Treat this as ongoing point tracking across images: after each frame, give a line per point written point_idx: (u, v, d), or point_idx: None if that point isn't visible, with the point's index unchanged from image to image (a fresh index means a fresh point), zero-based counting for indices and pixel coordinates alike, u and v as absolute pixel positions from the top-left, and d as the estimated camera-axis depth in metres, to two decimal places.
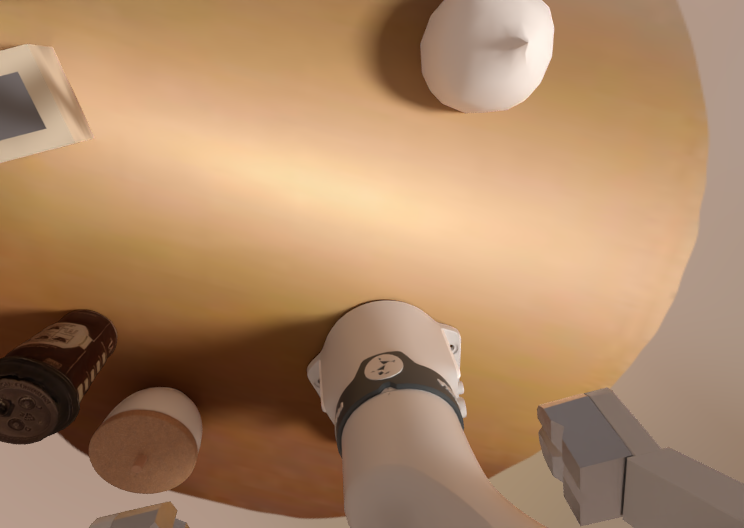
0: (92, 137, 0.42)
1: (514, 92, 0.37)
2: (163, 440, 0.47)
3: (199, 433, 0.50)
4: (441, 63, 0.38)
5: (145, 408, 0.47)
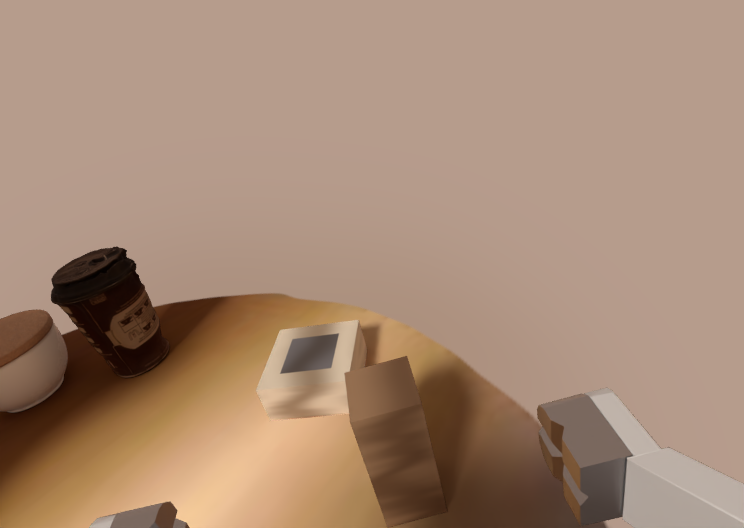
0: (269, 417, 0.39)
1: None
2: None
3: None
4: None
5: (22, 358, 0.46)
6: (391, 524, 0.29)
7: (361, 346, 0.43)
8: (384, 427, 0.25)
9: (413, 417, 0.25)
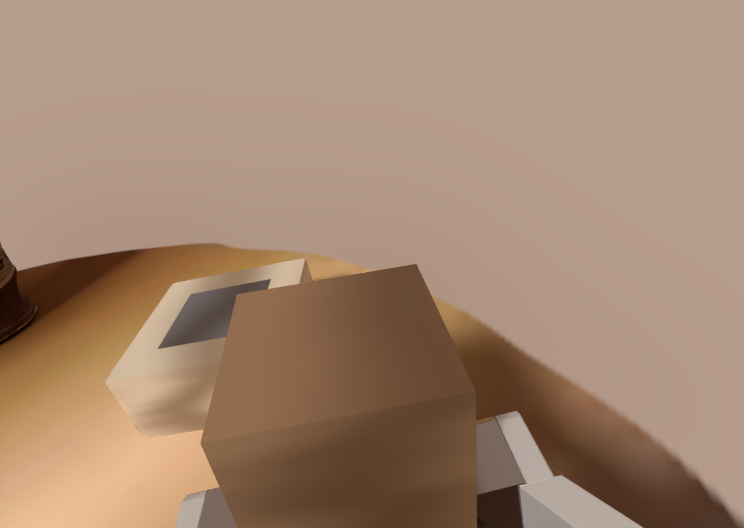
0: (141, 432, 0.21)
1: None
2: None
3: None
4: None
5: None
6: None
7: None
8: (331, 468, 0.07)
9: (436, 439, 0.07)
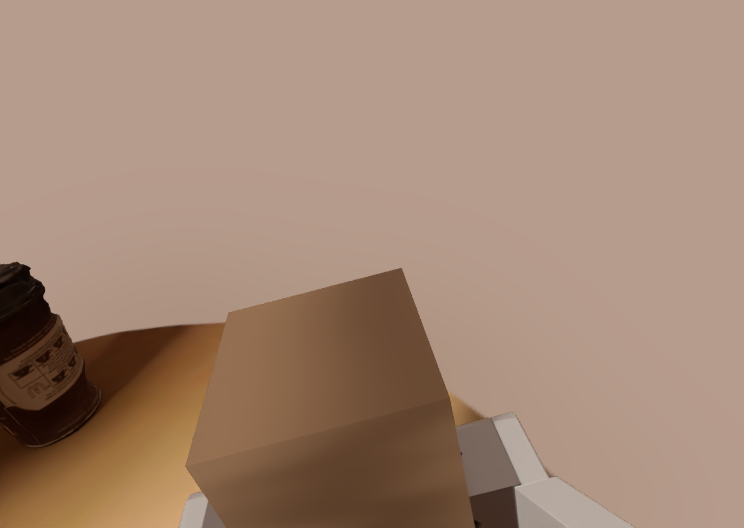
0: None
1: None
2: None
3: None
4: None
5: None
6: None
7: None
8: (316, 481, 0.07)
9: (417, 446, 0.07)
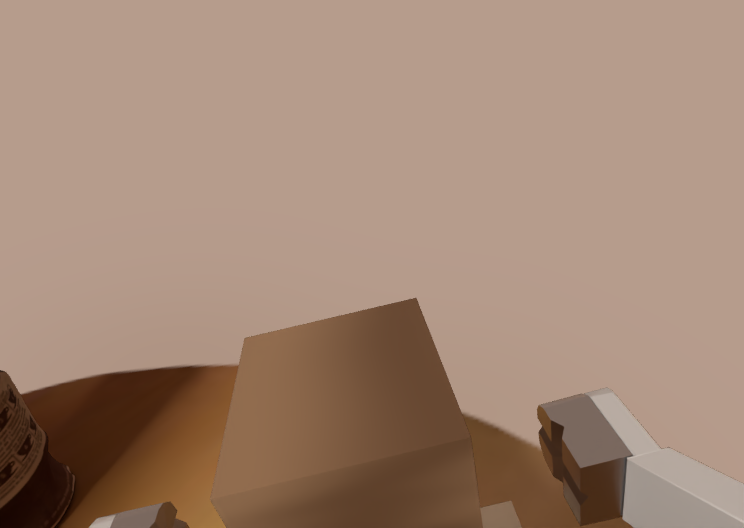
0: None
1: None
2: None
3: None
4: None
5: None
6: None
7: None
8: (336, 515, 0.07)
9: (436, 482, 0.07)
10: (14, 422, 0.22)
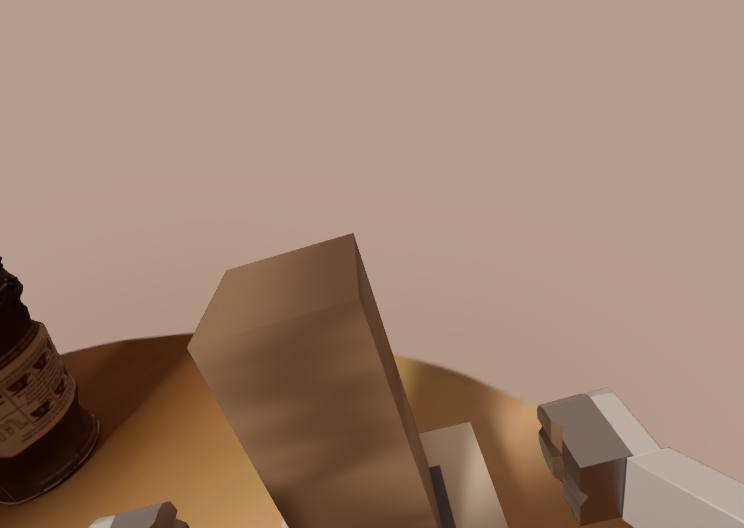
0: None
1: None
2: None
3: None
4: None
5: None
6: None
7: None
8: (275, 364, 0.10)
9: (343, 337, 0.10)
10: (51, 365, 0.25)
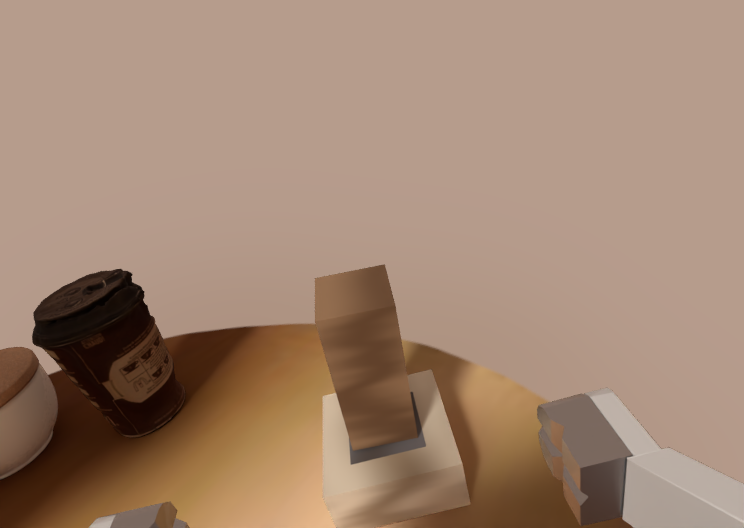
0: None
1: None
2: None
3: None
4: None
5: None
6: (357, 447, 0.27)
7: None
8: (352, 331, 0.23)
9: (385, 321, 0.23)
10: (161, 344, 0.38)
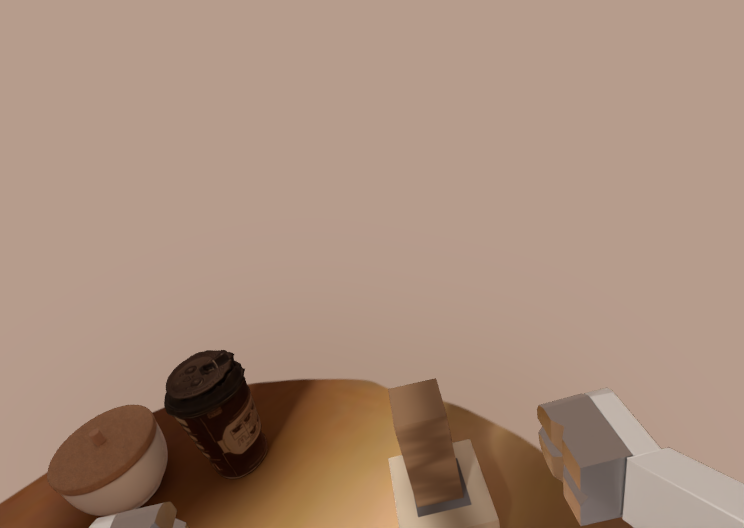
0: None
1: None
2: (94, 466, 0.45)
3: (74, 504, 0.45)
4: None
5: (135, 466, 0.46)
6: (420, 505, 0.38)
7: None
8: (418, 432, 0.34)
9: (440, 425, 0.34)
10: (254, 407, 0.49)
